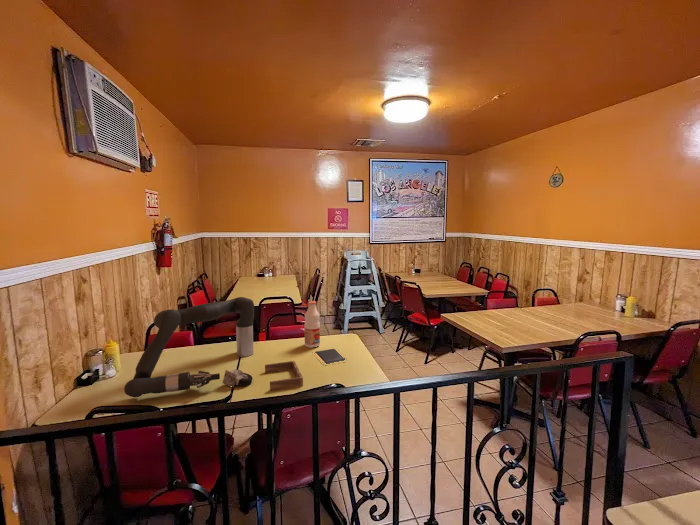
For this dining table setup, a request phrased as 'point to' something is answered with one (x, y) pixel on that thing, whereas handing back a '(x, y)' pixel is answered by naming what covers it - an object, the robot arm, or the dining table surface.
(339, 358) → the wallet
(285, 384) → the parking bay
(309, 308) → the fruit juice
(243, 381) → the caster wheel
